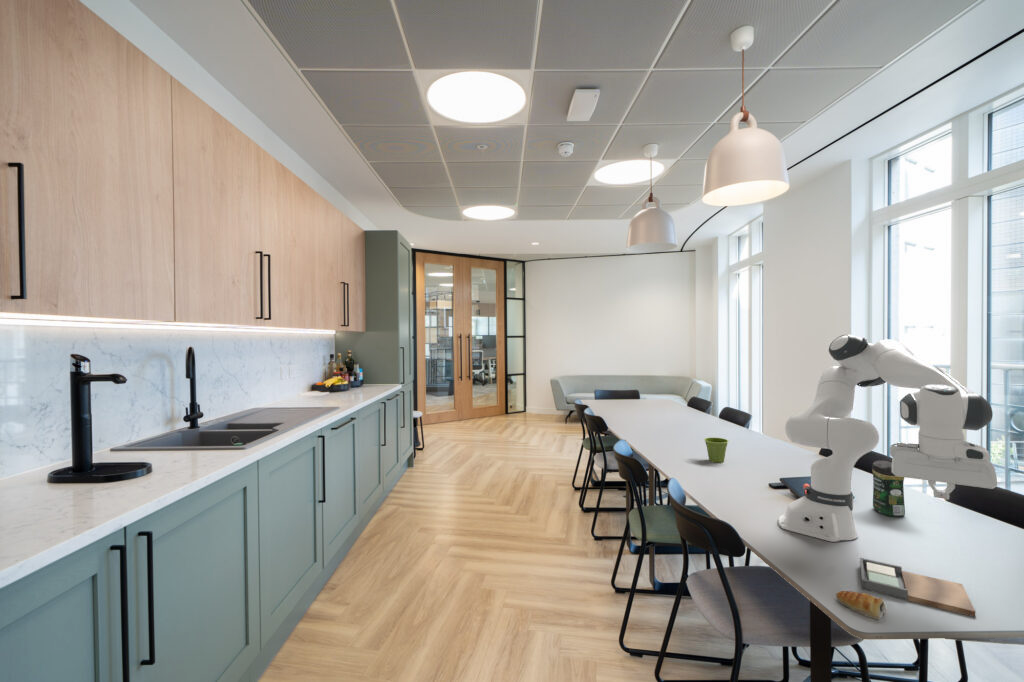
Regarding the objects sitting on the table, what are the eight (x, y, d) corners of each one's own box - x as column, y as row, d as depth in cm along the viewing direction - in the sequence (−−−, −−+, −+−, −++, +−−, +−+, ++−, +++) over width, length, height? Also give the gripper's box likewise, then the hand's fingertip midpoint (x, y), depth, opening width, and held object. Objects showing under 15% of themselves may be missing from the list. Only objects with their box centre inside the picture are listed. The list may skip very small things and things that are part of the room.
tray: (862, 589, 118) (862, 579, 118) (860, 566, 129) (860, 557, 129) (907, 600, 113) (907, 590, 113) (901, 575, 124) (901, 566, 124)
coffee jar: (868, 507, 172) (867, 458, 172) (892, 508, 171) (891, 459, 170) (884, 517, 163) (883, 465, 162) (909, 518, 161) (908, 466, 161)
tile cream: (867, 576, 123) (867, 569, 123) (866, 568, 127) (866, 561, 127) (895, 583, 120) (895, 576, 120) (894, 575, 124) (894, 568, 124)
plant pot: (701, 461, 237) (701, 440, 237) (708, 456, 246) (708, 436, 246) (725, 465, 229) (725, 443, 229) (731, 460, 238) (731, 439, 238)
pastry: (832, 605, 112) (832, 589, 112) (841, 594, 116) (840, 580, 116) (880, 622, 105) (880, 606, 105) (887, 611, 109) (887, 595, 109)
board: (907, 600, 113) (907, 595, 113) (901, 575, 124) (901, 570, 124) (975, 616, 106) (975, 611, 106) (962, 588, 117) (962, 584, 117)
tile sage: (869, 587, 118) (869, 579, 118) (868, 578, 122) (868, 571, 122) (899, 594, 115) (899, 587, 115) (897, 585, 119) (897, 578, 119)
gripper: (890, 444, 123) (890, 493, 124) (998, 455, 111) (999, 510, 111) (889, 438, 128) (889, 486, 129) (993, 448, 116) (993, 501, 116)
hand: (941, 497), depth 120 cm, fingers closed
